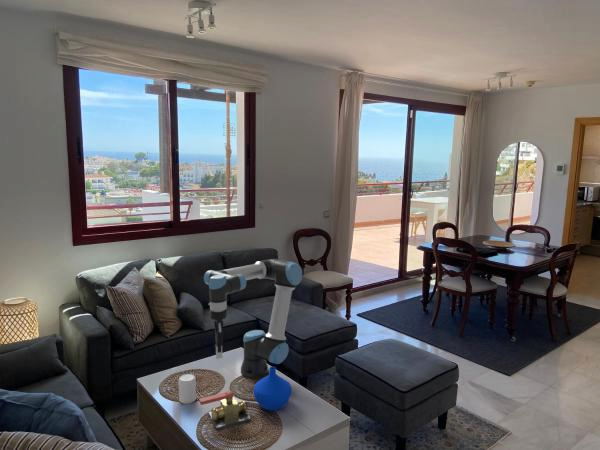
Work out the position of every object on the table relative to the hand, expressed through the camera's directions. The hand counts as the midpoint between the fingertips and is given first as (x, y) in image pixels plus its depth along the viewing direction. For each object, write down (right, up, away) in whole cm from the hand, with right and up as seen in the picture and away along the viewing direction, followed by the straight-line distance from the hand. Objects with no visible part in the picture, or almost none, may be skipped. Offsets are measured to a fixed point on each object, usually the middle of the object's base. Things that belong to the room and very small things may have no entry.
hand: (219, 357), depth 207 cm
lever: (0, -17, -6) cm, 18 cm away
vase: (+24, -26, +9) cm, 36 cm away
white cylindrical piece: (-18, -25, +12) cm, 33 cm away
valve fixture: (+5, -27, -2) cm, 28 cm away
